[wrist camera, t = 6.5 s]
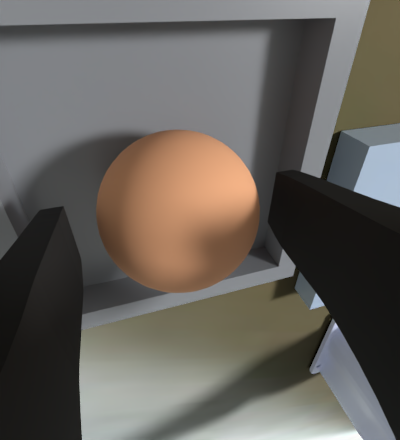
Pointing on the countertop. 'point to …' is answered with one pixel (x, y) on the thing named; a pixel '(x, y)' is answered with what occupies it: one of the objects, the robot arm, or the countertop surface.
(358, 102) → the countertop surface
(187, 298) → the tray
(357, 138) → the dish
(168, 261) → the ball
